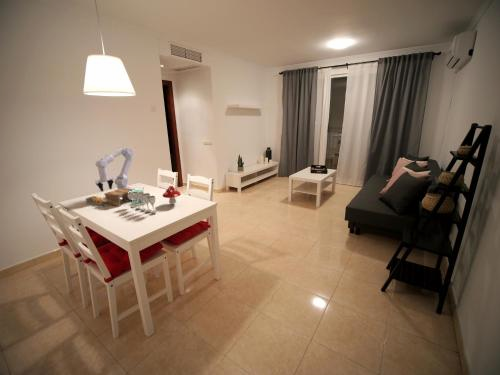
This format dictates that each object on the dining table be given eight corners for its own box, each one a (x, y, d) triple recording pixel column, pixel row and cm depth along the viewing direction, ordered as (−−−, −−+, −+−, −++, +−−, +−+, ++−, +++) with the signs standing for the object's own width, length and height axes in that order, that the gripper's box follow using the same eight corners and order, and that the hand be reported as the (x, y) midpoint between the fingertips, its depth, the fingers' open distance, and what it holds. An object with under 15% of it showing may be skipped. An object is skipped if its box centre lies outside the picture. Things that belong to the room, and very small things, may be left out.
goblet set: (159, 211, 168) (156, 194, 165) (152, 213, 163) (150, 196, 160) (134, 205, 181) (132, 189, 177) (127, 208, 176) (125, 191, 172)
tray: (94, 201, 193) (93, 195, 192) (109, 203, 187) (108, 197, 185) (86, 203, 188) (85, 197, 186) (101, 206, 181) (100, 199, 180)
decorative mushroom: (184, 203, 182) (182, 186, 178) (167, 208, 174) (165, 189, 170) (177, 199, 193) (175, 182, 189) (161, 203, 185) (159, 185, 181)
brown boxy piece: (124, 198, 199) (122, 188, 196) (136, 200, 194) (134, 189, 191) (106, 204, 184) (104, 193, 181) (118, 206, 178) (116, 195, 176)
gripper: (108, 172, 196) (111, 187, 200) (91, 175, 183) (94, 191, 187) (113, 172, 194) (116, 188, 197) (97, 176, 181) (100, 192, 184)
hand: (106, 190), depth 192 cm, fingers open, 7 cm apart
